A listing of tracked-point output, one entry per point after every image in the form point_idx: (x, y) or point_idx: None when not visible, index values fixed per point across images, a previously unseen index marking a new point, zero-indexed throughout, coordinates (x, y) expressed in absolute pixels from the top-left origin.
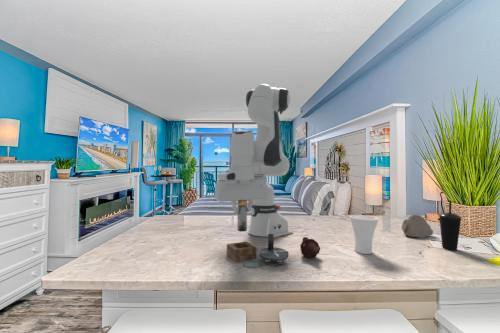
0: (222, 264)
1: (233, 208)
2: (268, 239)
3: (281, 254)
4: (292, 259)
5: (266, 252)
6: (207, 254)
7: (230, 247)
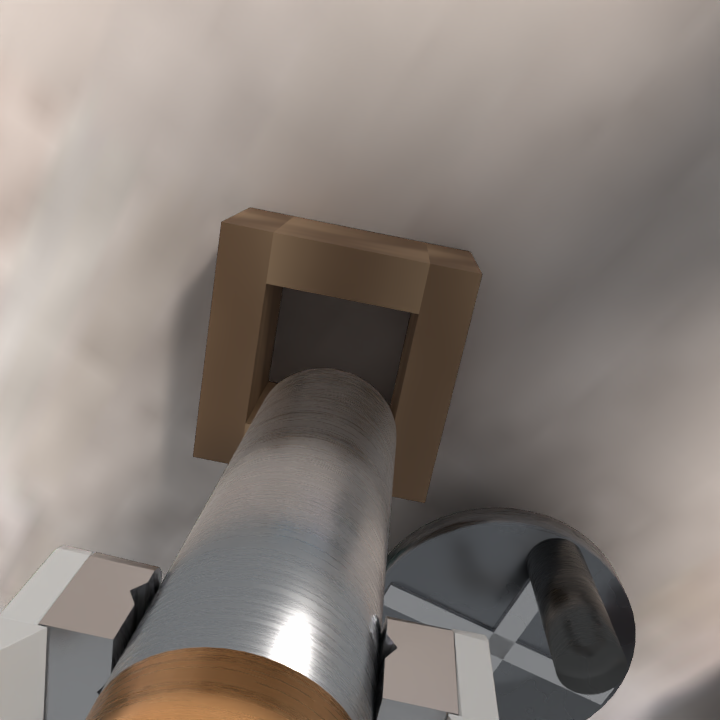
0: (101, 386)
1: (11, 603)
2: (544, 621)
3: (500, 712)
4: (651, 634)
5: (425, 622)
6: (82, 68)
7: (211, 324)
